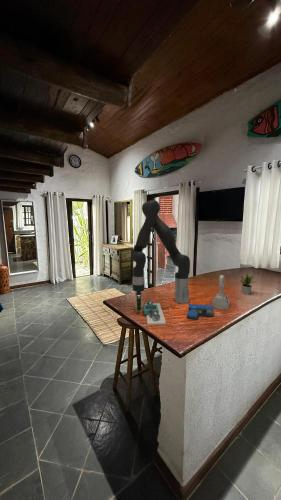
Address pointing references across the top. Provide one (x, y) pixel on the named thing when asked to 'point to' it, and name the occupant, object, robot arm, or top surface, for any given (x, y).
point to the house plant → (246, 284)
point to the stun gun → (199, 311)
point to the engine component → (221, 296)
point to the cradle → (148, 307)
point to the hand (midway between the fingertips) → (138, 307)
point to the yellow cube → (141, 307)
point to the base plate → (161, 321)
